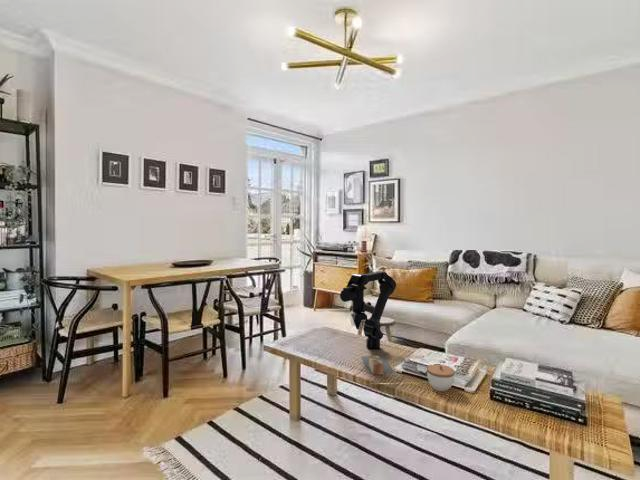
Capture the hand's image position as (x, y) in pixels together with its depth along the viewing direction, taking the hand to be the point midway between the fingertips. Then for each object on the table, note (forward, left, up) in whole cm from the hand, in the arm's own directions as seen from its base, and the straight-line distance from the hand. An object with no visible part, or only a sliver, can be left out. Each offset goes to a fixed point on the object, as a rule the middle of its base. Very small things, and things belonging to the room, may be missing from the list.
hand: (357, 329), depth 186 cm
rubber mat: (-7, +14, -13) cm, 20 cm away
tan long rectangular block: (-5, +15, -10) cm, 19 cm away
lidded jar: (-28, +38, -13) cm, 49 cm away
